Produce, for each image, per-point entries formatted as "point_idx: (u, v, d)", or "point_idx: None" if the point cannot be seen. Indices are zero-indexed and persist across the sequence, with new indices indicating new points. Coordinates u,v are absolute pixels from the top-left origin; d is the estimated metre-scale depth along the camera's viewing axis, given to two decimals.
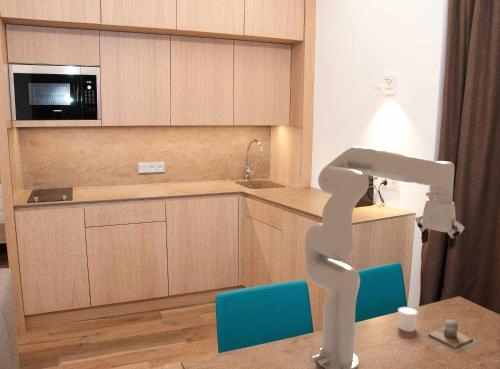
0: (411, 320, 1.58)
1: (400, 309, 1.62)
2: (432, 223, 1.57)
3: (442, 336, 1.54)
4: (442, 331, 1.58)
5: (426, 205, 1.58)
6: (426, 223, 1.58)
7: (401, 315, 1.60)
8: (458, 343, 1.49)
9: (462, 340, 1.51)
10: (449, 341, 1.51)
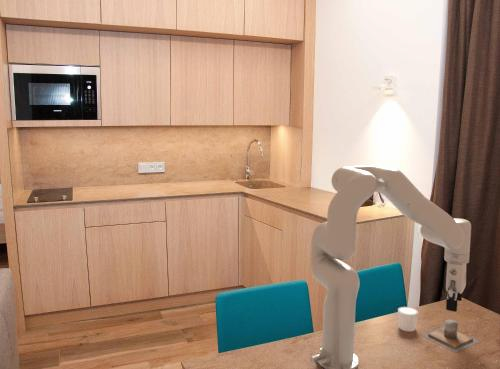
0: (411, 320, 1.58)
1: (400, 309, 1.62)
2: (464, 284, 1.49)
3: (442, 336, 1.54)
4: (442, 331, 1.58)
5: (462, 269, 1.46)
6: (462, 287, 1.47)
7: (401, 315, 1.60)
8: (458, 343, 1.49)
9: (462, 340, 1.51)
10: (449, 341, 1.51)
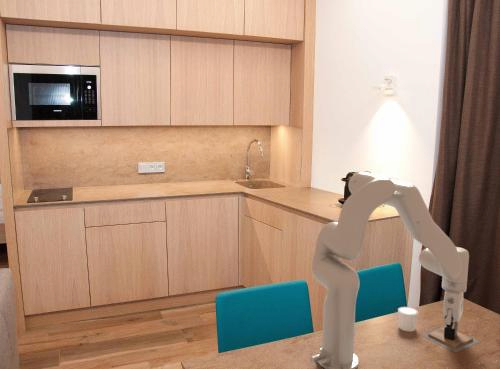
0: (411, 320, 1.58)
1: (400, 309, 1.62)
2: (461, 312, 1.51)
3: (442, 336, 1.54)
4: (442, 331, 1.58)
5: (459, 298, 1.48)
6: (459, 316, 1.49)
7: (401, 315, 1.60)
8: (458, 343, 1.49)
9: (462, 340, 1.51)
10: (449, 341, 1.51)
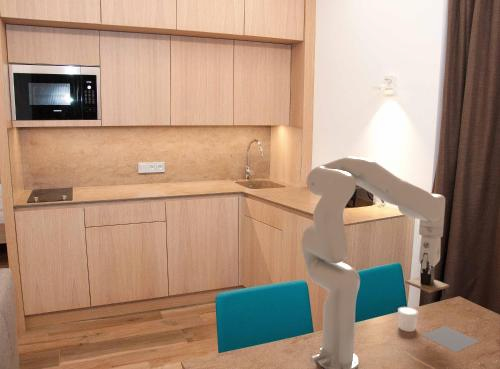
0: (411, 320, 1.58)
1: (400, 309, 1.62)
2: (437, 258, 1.52)
3: (419, 282, 1.56)
4: (420, 279, 1.59)
5: (435, 243, 1.49)
6: (435, 261, 1.51)
7: (401, 315, 1.60)
8: (434, 288, 1.51)
9: (438, 286, 1.53)
10: (425, 286, 1.52)
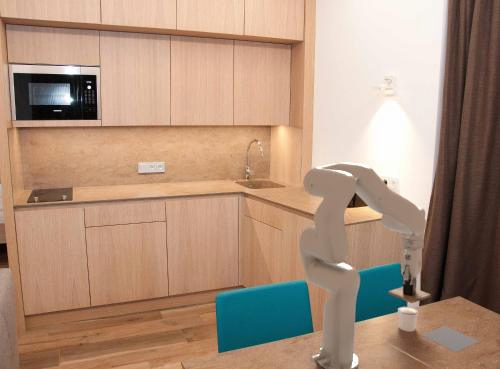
0: (411, 320, 1.58)
1: (400, 309, 1.62)
2: (418, 269, 1.56)
3: (402, 293, 1.60)
4: (402, 289, 1.64)
5: (416, 254, 1.53)
6: (416, 272, 1.55)
7: (401, 315, 1.60)
8: (416, 298, 1.55)
9: (420, 296, 1.57)
10: (407, 297, 1.57)
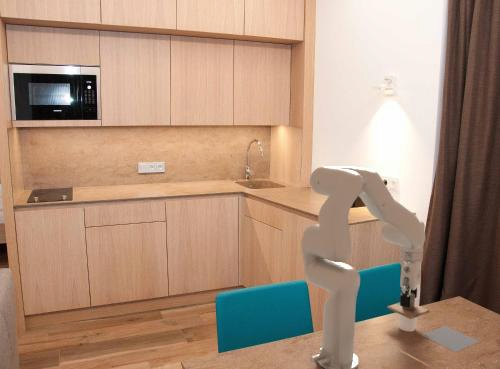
0: (411, 320, 1.58)
1: None
2: (417, 281, 1.57)
3: (400, 308, 1.61)
4: None
5: (415, 267, 1.54)
6: (415, 285, 1.55)
7: (401, 315, 1.60)
8: (414, 314, 1.56)
9: (419, 311, 1.58)
10: (406, 312, 1.57)
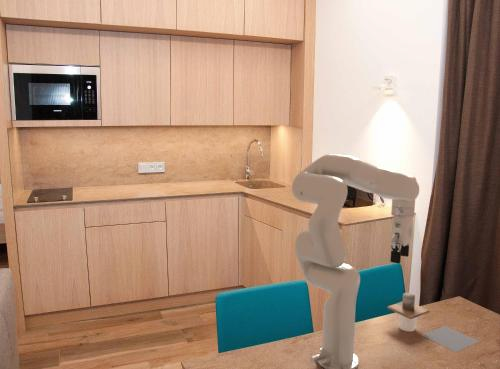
0: (411, 320, 1.58)
1: None
2: (408, 238, 1.56)
3: (400, 308, 1.61)
4: (401, 304, 1.64)
5: (406, 222, 1.53)
6: (406, 240, 1.54)
7: (401, 315, 1.60)
8: (414, 314, 1.56)
9: (419, 311, 1.58)
10: (406, 312, 1.57)
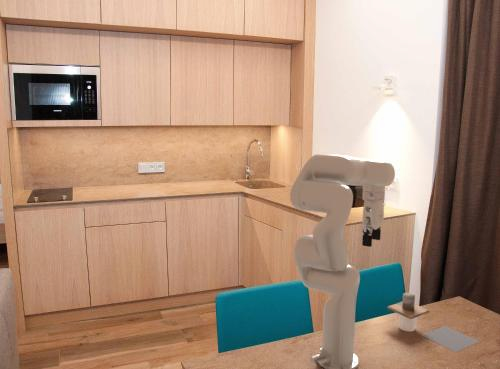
0: (411, 320, 1.58)
1: None
2: (379, 221, 1.59)
3: (400, 308, 1.61)
4: (401, 304, 1.64)
5: (376, 206, 1.56)
6: (377, 224, 1.57)
7: (401, 315, 1.60)
8: (414, 314, 1.56)
9: (419, 311, 1.58)
10: (406, 312, 1.57)
